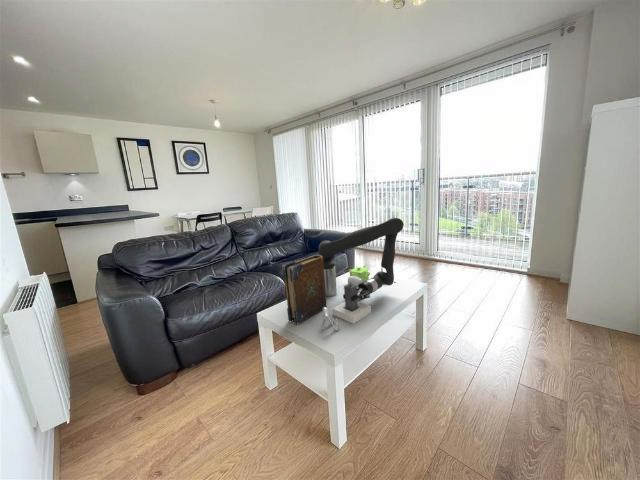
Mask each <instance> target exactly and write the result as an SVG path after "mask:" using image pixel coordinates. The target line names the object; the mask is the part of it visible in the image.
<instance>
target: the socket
mask: <svg viewBox="0 0 640 480" xmlns="http://www.w3.org/2000/svg"><path fill="white" fill-rule="evenodd" d="M371 307H372V306H371V305H368V304H366V303H362V302H360V301H358V309H356V310H354V311H353V312H352V311H349V310H347V309H346V308H345V301H344V302H341V303H340V304H338V305H337V306H334V307H332V315H333V316H335V317H336V318H339V319H342V320H343V321H346V322H348V323H351V324H355V323H357V322H359V321H360V320H362V319H363V318H365V317H366V316H368V315H370V314H371V313H372V308H371Z"/></svg>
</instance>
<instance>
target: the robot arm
mask: <svg viewBox="0 0 640 480" xmlns="http://www.w3.org/2000/svg"><path fill="white" fill-rule="evenodd" d="M403 229H404V221H403V220H402V219H401V218H400V217H391V218H389V219H388V220H386V221H383V222H381V223H379V224H376V225H372V226H367V227H363V228H360V229H357V230H354V231H352V232H350V233H348V234H346V235H344V236H343V237H340V238H339V239H336V240H333V241H330V240H326V239H325V240H322V241H321V242H319V245H318V255H321V256H323V265H324V278H325V290H326V297H333V296H335V295H336V294H337V293H338V292H337V291H338V288H337V274H336V260H335V259H336V257H335V255H338V254H339V253H341V252H343V251H344V252H345V251H348V250H352V249H354V248H357V247H361V246H363V245H366V244H369V243H371V242H374V241H375V240H378V239H380V238H383V237H384V246H383V251H382V256H381V262H380V266H381V268H382V269H385V271H383V272H382V271H381V270H380V271H377V272H376V273H375V275H373V277H371V278H369V279H368V280H366V281H364V282H362V283H360V284H359V285H358V286H357V294H356V295H354V296H353V297H351V301H352V302H353V301H355V300H357V301H358V300H360V301H363V300H366V299H368V298H371V294H373V293H375V292H376V291H377V290H379V289H381V288H382V287H383V285H385V286H391V285H393V284H394V283H393V282H395V275H394V263H395V258H396V257H395V256H396V241H397V236H398V234H399V233H400V232H402V230H403ZM362 296H364V297H363V298H362ZM342 298H343V299H344V300H345V293H343V295H342Z"/></svg>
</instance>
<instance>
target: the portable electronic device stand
mask: <svg viewBox="0 0 640 480" xmlns="http://www.w3.org/2000/svg"><path fill="white" fill-rule="evenodd" d="M322 314H323V320H322V323H321V327H322V329H321V330H322V331H324V328H325V326H326V324H327V321H328V320H329V321H330V323H331V325H332V327H333V328H334V329H335V331H336V332H339V331H340V326H339V321H338V317H335V318H333V316H332V315H331V313H330V311H329V310H328V308H327V307H323V310H322Z"/></svg>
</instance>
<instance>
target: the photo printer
mask: <svg viewBox="0 0 640 480" xmlns="http://www.w3.org/2000/svg"><path fill="white" fill-rule="evenodd" d="M349 280H351V281H352V284H355V285H357V286H358V285H359V284H360V283H362V282H363V280H362V279H360V278H359V277H356V276H350V275H349V276H348V277H347V284H349ZM363 297H364V296H362V298H363Z"/></svg>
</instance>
